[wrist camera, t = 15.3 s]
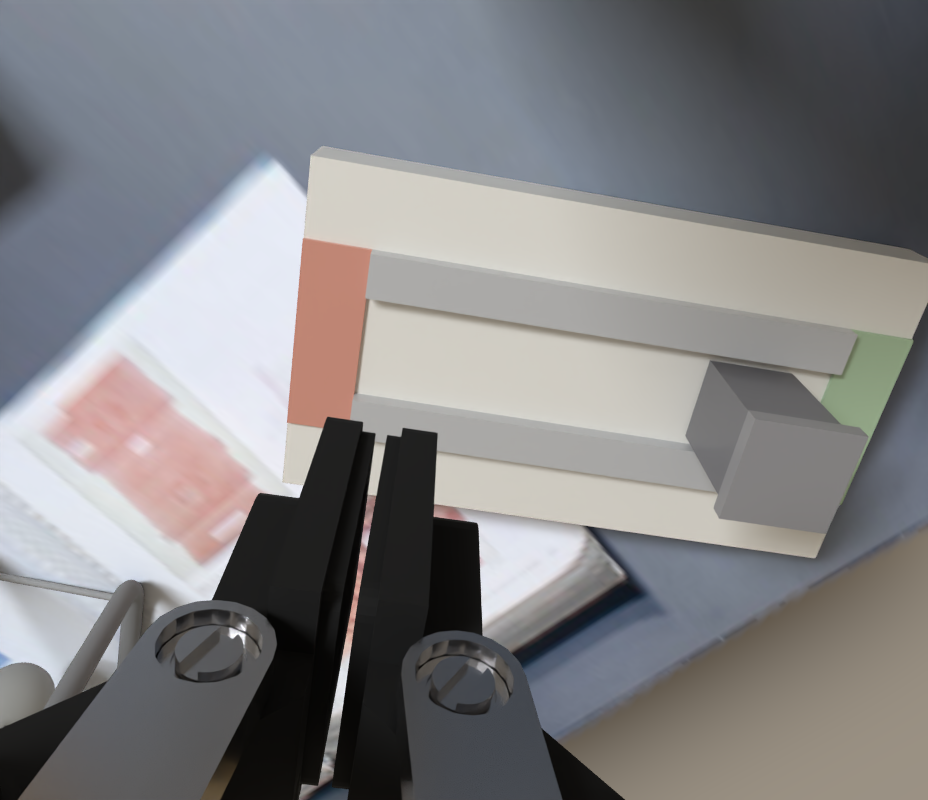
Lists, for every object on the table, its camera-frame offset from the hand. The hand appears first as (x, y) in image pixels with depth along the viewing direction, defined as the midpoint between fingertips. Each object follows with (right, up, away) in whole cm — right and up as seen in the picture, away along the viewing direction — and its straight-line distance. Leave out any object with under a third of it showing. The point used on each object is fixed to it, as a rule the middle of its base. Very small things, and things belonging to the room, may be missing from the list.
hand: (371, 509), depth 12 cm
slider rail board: (+8, +4, +28) cm, 29 cm away
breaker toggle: (+14, +1, +26) cm, 29 cm away
